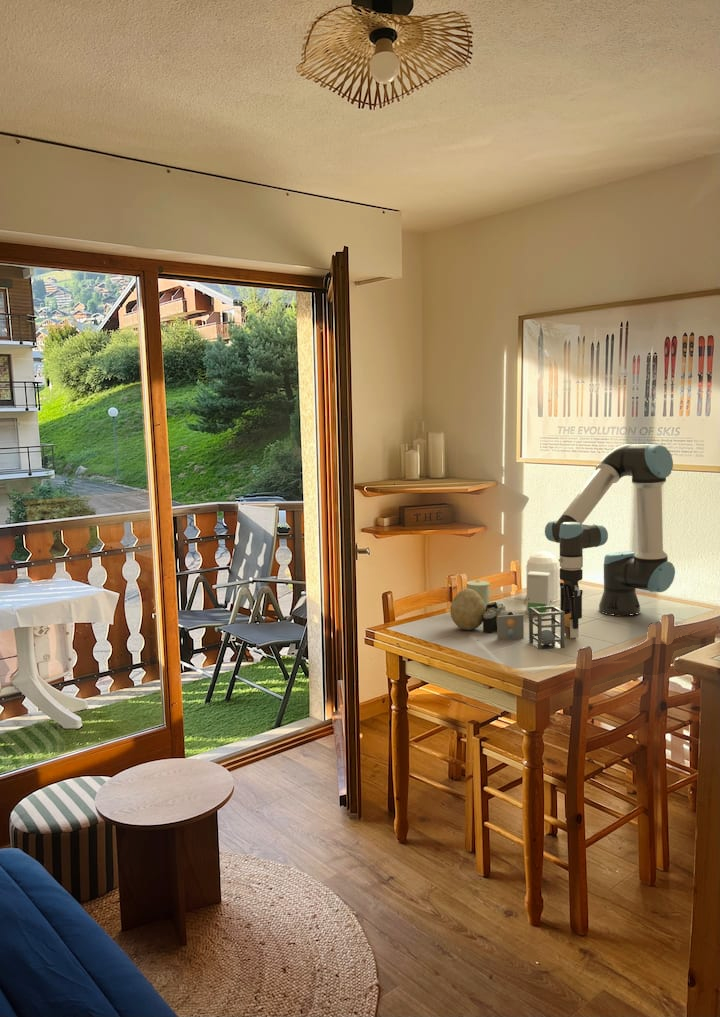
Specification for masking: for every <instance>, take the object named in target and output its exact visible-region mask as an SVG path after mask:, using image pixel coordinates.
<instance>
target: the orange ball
mask: <svg viewBox="0 0 720 1017" xmlns="http://www.w3.org/2000/svg"><path fill="white" fill-rule="evenodd" d="M569 618H571V613H569V614H567V615H565V626H566V627H568V628H570V619H569Z"/></svg>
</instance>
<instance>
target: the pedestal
mask: <svg viewBox="0 0 720 1017" xmlns="http://www.w3.org/2000/svg"><path fill="white" fill-rule="evenodd" d="M565 629H566V633H565V638H567V639H568V640H571V639H572V640H573V639H576V638H570V628H568V627H565Z"/></svg>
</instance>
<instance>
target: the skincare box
mask: <svg viewBox="0 0 720 1017" xmlns="http://www.w3.org/2000/svg"><path fill="white" fill-rule="evenodd" d="M550 603H551V602H550V573H546V572H535V571H530V572H529V573H528V574H527V573H526V613H527V614H529V607H544V606H551V605H550ZM536 611H538V612H539V613H548V612H550V609H543V610H536ZM534 614H535V613H534V612H533V615H534ZM535 615H536V614H535Z"/></svg>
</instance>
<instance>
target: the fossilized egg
mask: <svg viewBox="0 0 720 1017" xmlns="http://www.w3.org/2000/svg"><path fill="white" fill-rule="evenodd" d="M484 612H486V607H485V604H484V601H483V599H482V598H481V596H480V595H479V594H478V593H477V592H476V591H474V590H472V589H467V588H464V589H461V590H459V591H458V592H457V594H456V595H455V596H454V597H453V599H452V601H451V604H450V612H449V614H450V618H451V620H452V622H453V623H454V624H455V626H457V627H458V628H460V629H462V630H466V631H472V630H475V629H477V628H479V627H480V626H481V625H483V617H484Z"/></svg>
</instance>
